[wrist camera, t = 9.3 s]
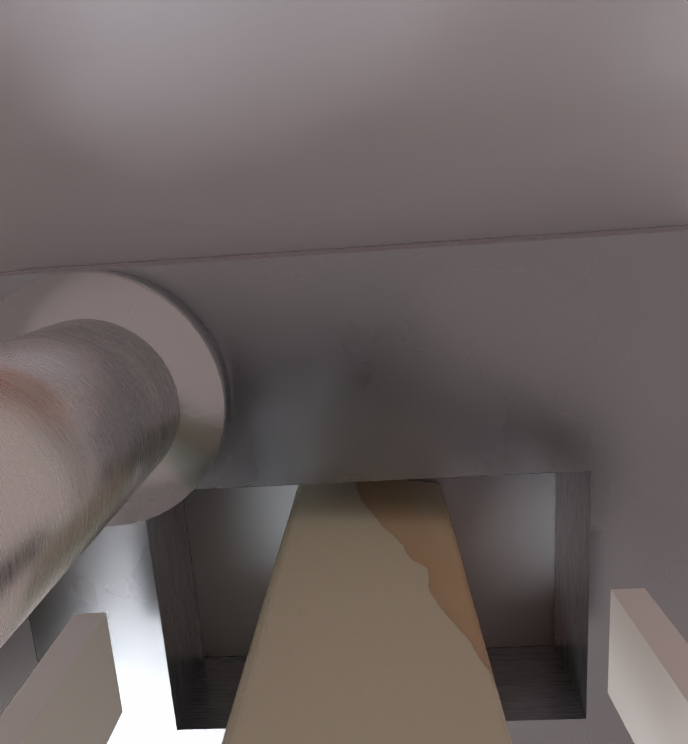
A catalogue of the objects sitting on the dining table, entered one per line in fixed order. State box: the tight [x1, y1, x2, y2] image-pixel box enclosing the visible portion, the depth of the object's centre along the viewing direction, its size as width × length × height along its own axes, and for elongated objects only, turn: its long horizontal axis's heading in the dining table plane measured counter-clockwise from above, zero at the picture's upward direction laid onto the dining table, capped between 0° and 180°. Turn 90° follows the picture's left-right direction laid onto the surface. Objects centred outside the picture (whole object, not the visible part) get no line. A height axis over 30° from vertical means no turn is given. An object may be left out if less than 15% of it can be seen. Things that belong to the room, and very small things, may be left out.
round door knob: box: [0, 270, 231, 648], centre depth 13 cm, size 6×6×12 cm
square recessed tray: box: [0, 225, 688, 744], centre depth 18 cm, size 18×18×3 cm
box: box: [222, 480, 512, 744], centre depth 14 cm, size 5×4×11 cm
